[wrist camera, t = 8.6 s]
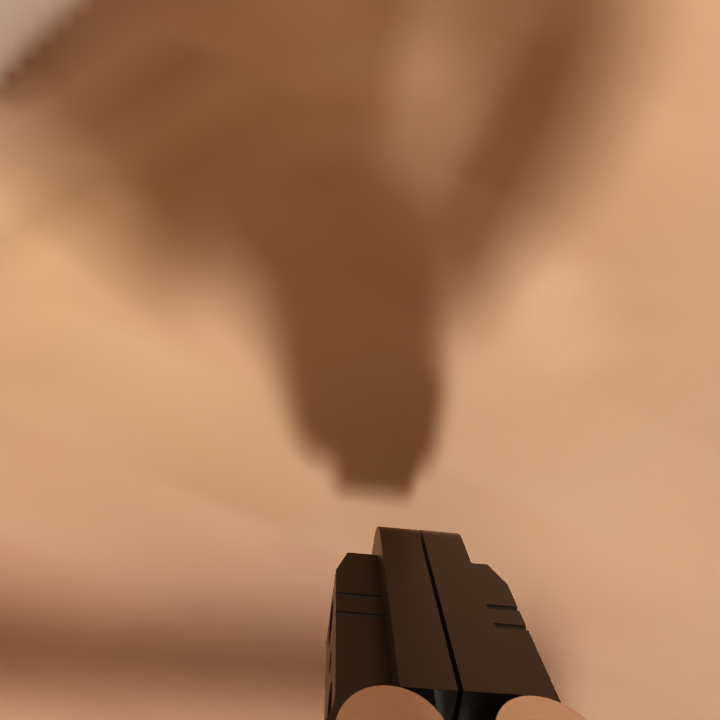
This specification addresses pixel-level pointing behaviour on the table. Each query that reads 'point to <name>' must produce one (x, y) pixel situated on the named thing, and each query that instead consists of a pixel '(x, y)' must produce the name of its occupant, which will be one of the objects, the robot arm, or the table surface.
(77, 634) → the table surface
